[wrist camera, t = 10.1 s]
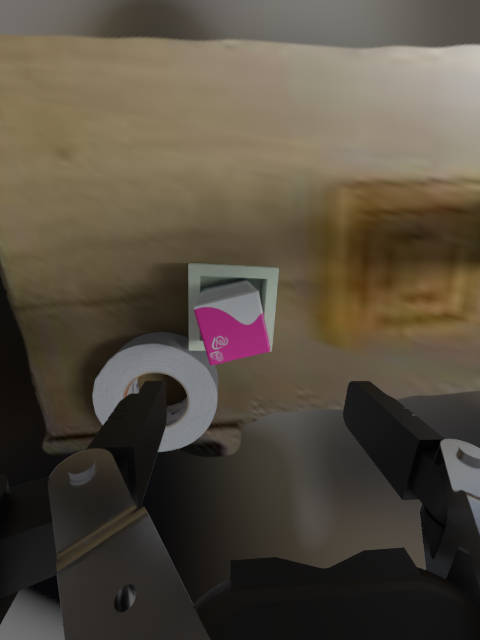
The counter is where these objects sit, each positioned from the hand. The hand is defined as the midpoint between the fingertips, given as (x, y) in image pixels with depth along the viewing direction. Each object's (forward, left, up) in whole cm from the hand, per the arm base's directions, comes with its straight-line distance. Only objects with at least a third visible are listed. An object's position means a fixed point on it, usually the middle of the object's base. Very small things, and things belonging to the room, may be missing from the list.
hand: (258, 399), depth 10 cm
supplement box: (0, 0, -22) cm, 22 cm away
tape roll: (+9, +12, -23) cm, 27 cm away
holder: (0, 0, -23) cm, 23 cm away
